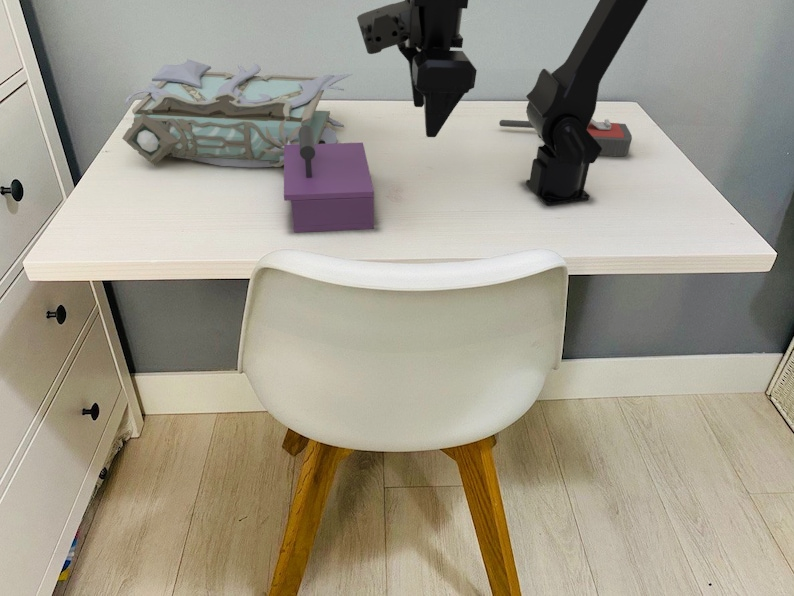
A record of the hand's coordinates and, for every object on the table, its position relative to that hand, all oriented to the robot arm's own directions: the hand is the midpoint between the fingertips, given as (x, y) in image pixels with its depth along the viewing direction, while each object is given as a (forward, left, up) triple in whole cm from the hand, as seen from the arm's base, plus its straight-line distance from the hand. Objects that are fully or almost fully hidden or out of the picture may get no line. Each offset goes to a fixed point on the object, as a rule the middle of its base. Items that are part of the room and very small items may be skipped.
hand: (424, 121), depth 80 cm
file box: (+12, -2, -11) cm, 16 cm away
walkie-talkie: (-27, -11, -11) cm, 32 cm away
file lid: (+12, -2, -6) cm, 14 cm away
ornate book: (+20, -23, -11) cm, 32 cm away
